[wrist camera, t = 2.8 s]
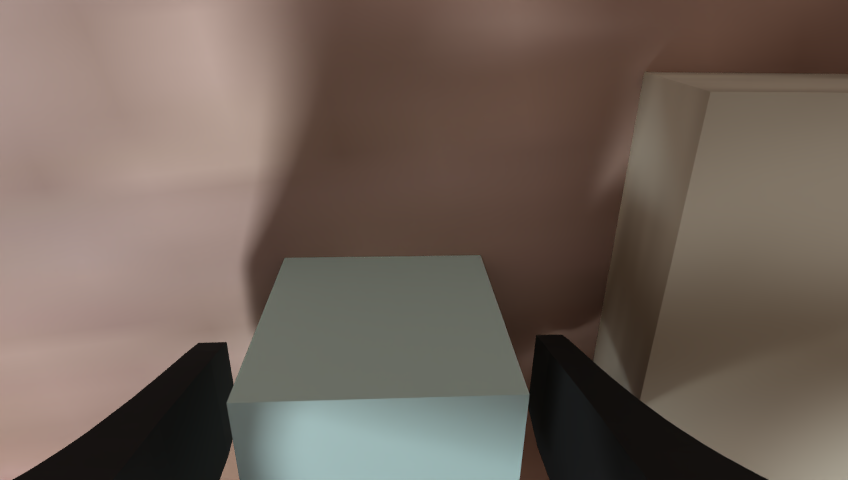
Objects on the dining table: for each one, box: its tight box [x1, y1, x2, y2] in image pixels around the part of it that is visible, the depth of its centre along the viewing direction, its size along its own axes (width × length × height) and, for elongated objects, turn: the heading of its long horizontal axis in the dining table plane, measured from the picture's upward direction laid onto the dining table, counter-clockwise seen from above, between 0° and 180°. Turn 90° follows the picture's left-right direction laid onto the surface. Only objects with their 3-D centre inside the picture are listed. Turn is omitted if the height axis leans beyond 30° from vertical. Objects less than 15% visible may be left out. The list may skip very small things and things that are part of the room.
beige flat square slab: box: [593, 72, 848, 480], centre depth 13 cm, size 11×11×3 cm
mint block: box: [227, 255, 530, 480], centre depth 11 cm, size 5×5×5 cm
